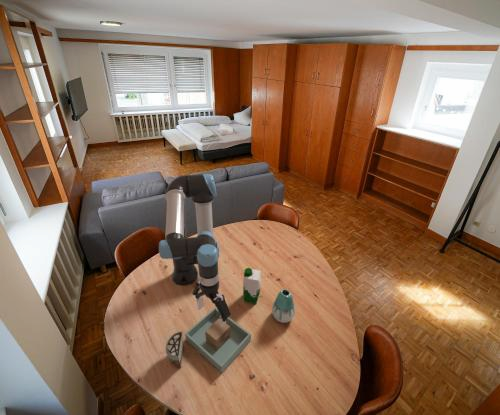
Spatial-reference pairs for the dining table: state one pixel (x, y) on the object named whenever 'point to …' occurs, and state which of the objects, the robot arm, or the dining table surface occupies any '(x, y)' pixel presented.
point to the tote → (227, 350)
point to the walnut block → (217, 334)
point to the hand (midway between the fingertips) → (211, 316)
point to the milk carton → (251, 285)
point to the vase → (283, 306)
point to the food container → (175, 349)
